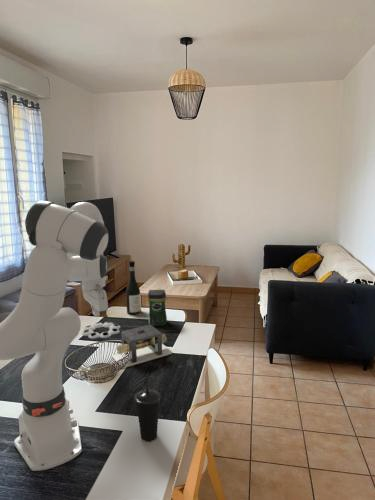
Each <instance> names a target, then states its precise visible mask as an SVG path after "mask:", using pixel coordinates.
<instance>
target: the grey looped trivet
mask: <svg viewBox="0 0 375 500" xmlns="http://www.w3.org/2000/svg"><path fill="white" fill-rule="evenodd" d="M97 328H100V329H101V328H108V331H103V332H101V333H99V332H98V331H97V332H96V331H95V332H94V330H96V329H97ZM119 329H121V326H120V325H119V324H117V323H113V322H112V321H105V322H104V323H102V322H95V323H93V324H91V325H90V324H89V325H87V326H85V327H84V328H83V331H82V333H81V335H82V336H88V338H89V339H92V340H93V339H99V338H101V339H108V338H110V337H111V336H112V335H116V334H117V335H118V334H119V333H120V330H119ZM114 330H115V331H114ZM104 334H106V335H104Z"/></svg>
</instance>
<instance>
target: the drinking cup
mask: <svg viewBox="0 0 375 500" xmlns="http://www.w3.org/2000/svg"><path fill="white" fill-rule="evenodd" d="M160 400H161V393H160V391H158V390H156V389H152V388H149V376H148V375H146V376H145V389H141V390H138V391H137V392H136V394H134V401H135V404H136V410H137V417H138V425H139V433H140V438H141V440H142V441H144V442H149V443H150V442H153V441H154V440H155V441H156V439H157V437H158V425H159V412H160V411H159V410H160Z"/></svg>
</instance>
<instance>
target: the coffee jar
mask: <svg viewBox="0 0 375 500" xmlns="http://www.w3.org/2000/svg"><path fill="white" fill-rule="evenodd" d="M166 300H167V293H166V291H165V289H149V290H148V293H147V302H148V305H149V306H148V307H149V308H148V309H149V310H148V311H149V312H148V325H152V326H153V327H161V326H165V325H167V323H168V317H167V310H166Z"/></svg>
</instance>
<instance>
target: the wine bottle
mask: <svg viewBox="0 0 375 500" xmlns="http://www.w3.org/2000/svg"><path fill="white" fill-rule="evenodd" d="M128 264H129V280H128V284H127V286H126V292H125V300H126V301H125V302H126V313H128V314H129V315H137V314H139V313H141V312H142V305H141V304H142V302H141V300H142V299H141V298H142V297H141V291H140V290H141V289H140V287H139V285H138V282H137V281H136V269H135V268H136V267H135V261H134V260H129V261H128Z"/></svg>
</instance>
